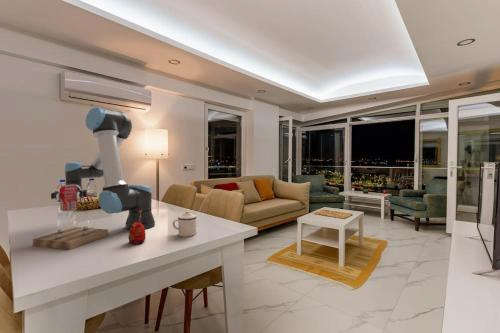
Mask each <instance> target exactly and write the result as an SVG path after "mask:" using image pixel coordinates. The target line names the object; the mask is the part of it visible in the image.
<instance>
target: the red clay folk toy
mask: <svg viewBox="0 0 500 333" xmlns="http://www.w3.org/2000/svg"><path fill="white" fill-rule="evenodd" d="M141 212H142V210H141V211H139V212H138V213H140V218H141ZM146 234H147V233H146V229H144V226H143V225H142V224H141V222H140V219H139V221H138V222H134V223H133V224H132V227H131V229H130V230H129V233H128V243H130V244H131V245H139V244H142V243H144V242H145V240H146Z"/></svg>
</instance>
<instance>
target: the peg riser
mask: <svg viewBox="0 0 500 333" xmlns="http://www.w3.org/2000/svg"><path fill="white" fill-rule="evenodd" d="M107 236H109V229H107V228H105V229H104V228H92V227H89V226H88V225H86V226H83V227H81V226H79V227H78V226H73V227H70V228H66V229H64V228H59V229H57V231H55V232H53V233H49V234H46V235H42V236H39V237H34V238H33V239H32V247H41V248H50V249H51V248H52V249H61V250H73V249H76V248H79V247H82V246H85V245H87V244H89V243H90V244H91V243H92V242H95V241H98V240H100V239H102V238H105V237H107Z"/></svg>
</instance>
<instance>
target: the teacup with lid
mask: <svg viewBox="0 0 500 333" xmlns="http://www.w3.org/2000/svg"><path fill="white" fill-rule="evenodd" d="M175 222H178V223H177V224H178V225H177V226H178V227H177V226H176V224H175ZM172 227H173V228H174V229H175V230H177V231H178V236H180V237H184V238H185V237H192V236H193V237H194V236H195V235H196V234H197V215H196V214H193V213H192V212H190V211H189V210H185V211H184V213H183V214H180V215H178V217H177V219H175V220H173V221H172Z"/></svg>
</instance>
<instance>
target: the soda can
mask: <svg viewBox="0 0 500 333" xmlns="http://www.w3.org/2000/svg"><path fill="white" fill-rule="evenodd" d="M58 191H59V194H60V200H59V210H60V211H62V212H72V211H73V212H74V211H76V210H77V209H78V206H79V202H78V201H79V199H77V187H76V185H66V184H63V185H60V188H59V190H58Z"/></svg>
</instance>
